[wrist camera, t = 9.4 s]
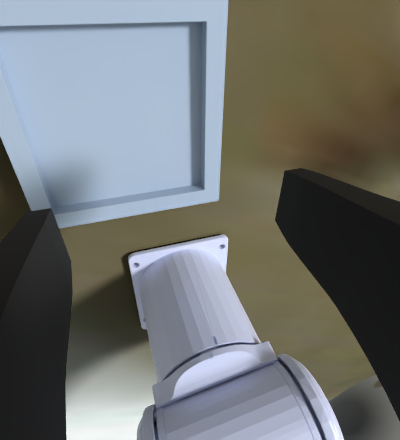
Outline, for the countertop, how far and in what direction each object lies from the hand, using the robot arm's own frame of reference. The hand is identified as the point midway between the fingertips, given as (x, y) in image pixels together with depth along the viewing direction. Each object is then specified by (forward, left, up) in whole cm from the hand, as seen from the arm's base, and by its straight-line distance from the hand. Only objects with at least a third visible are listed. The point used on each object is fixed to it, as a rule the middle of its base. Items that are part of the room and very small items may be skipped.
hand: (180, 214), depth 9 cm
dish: (0, +1, -10) cm, 10 cm away
